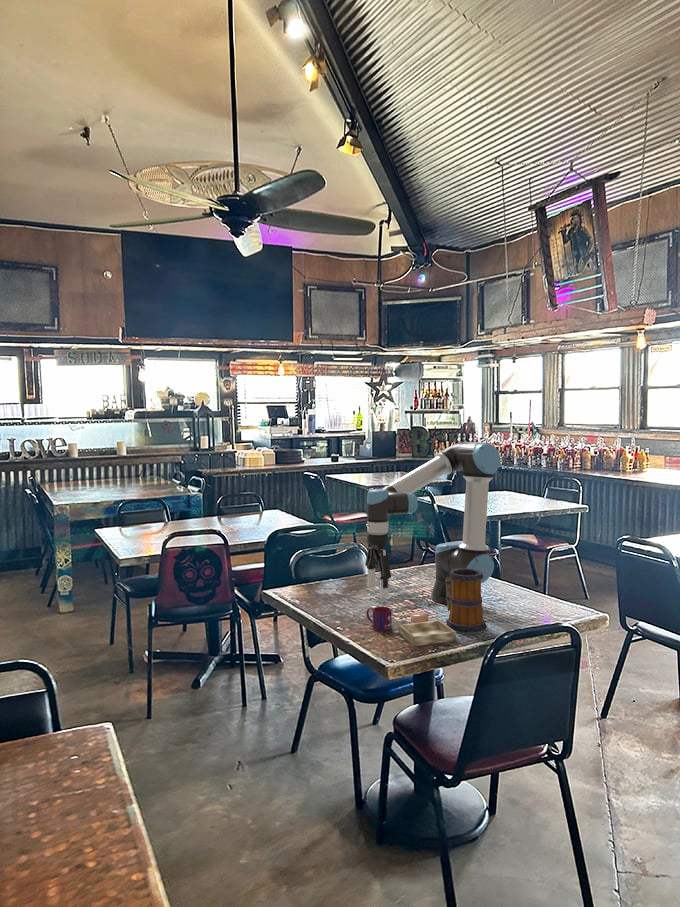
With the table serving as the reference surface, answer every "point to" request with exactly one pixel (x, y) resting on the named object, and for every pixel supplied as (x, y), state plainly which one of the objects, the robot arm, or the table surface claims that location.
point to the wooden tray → (427, 633)
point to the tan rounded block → (419, 617)
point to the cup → (381, 618)
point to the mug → (465, 601)
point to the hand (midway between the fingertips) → (377, 591)
